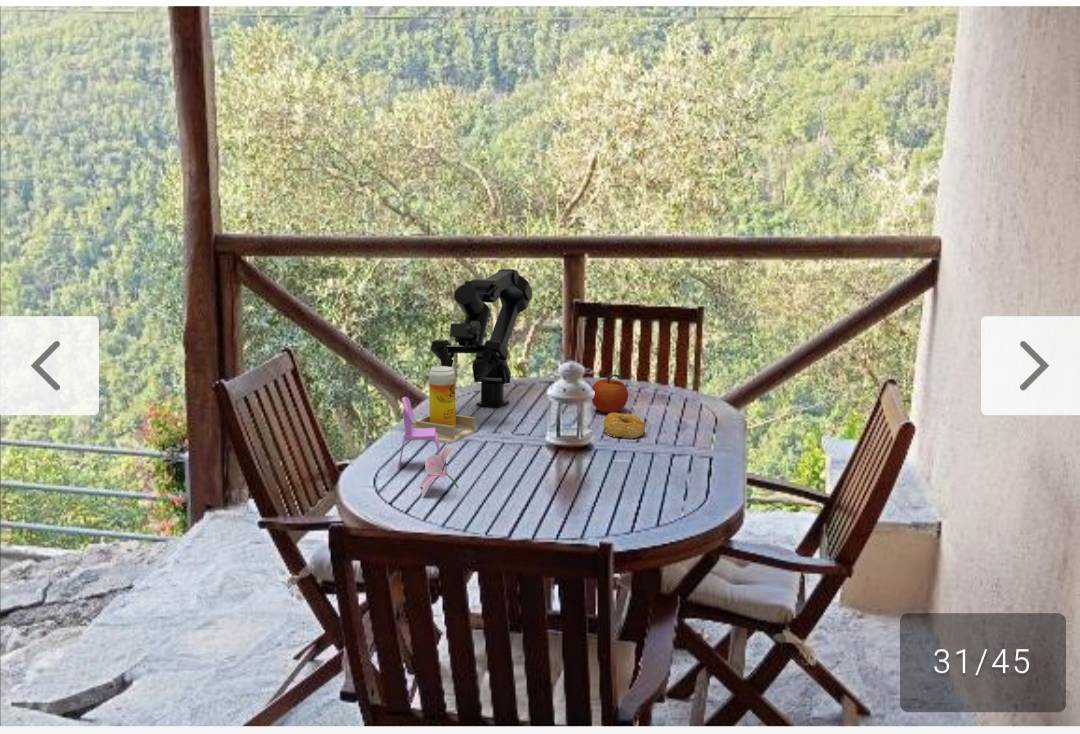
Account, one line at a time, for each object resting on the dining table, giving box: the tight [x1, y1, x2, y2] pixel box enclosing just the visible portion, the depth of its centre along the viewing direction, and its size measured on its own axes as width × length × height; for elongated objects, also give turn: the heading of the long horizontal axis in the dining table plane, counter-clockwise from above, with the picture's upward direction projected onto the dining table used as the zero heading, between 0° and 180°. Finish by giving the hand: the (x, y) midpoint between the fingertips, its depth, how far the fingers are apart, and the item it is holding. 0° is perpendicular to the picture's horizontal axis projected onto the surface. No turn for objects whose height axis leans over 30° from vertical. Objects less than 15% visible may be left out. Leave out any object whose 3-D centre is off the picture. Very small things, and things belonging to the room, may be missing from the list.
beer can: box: [428, 365, 457, 427], centre depth 253 cm, size 6×6×15 cm
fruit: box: [591, 373, 629, 414], centre depth 274 cm, size 10×10×10 cm
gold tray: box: [411, 414, 478, 444], centre depth 254 cm, size 12×12×4 cm
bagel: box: [603, 412, 646, 440], centre depth 255 cm, size 10×11×5 cm
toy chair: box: [397, 396, 440, 471], centre depth 229 cm, size 8×9×15 cm
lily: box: [418, 442, 460, 499], centre depth 214 cm, size 12×12×10 cm
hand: (461, 381), depth 260 cm, fingers open, 9 cm apart
